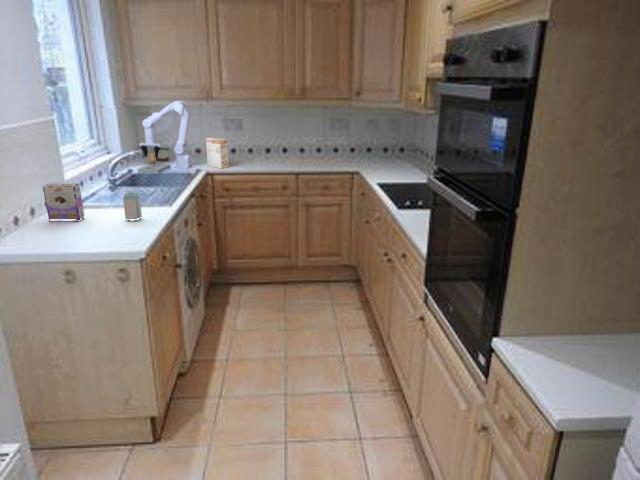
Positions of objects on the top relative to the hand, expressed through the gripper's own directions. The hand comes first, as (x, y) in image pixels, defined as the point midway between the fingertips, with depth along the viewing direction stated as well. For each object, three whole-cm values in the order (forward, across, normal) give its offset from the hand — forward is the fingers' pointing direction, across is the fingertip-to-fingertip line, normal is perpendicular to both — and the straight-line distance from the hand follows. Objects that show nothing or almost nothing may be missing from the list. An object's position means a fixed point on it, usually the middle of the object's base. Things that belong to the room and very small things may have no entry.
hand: (151, 157), depth 334 cm
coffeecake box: (+6, +44, +9) cm, 45 cm away
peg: (+6, 0, 0) cm, 6 cm away
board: (+6, +8, -13) cm, 17 cm away
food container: (+7, -1, +20) cm, 21 cm away
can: (+6, +49, -116) cm, 126 cm away
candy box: (+7, +20, -122) cm, 124 cm away
